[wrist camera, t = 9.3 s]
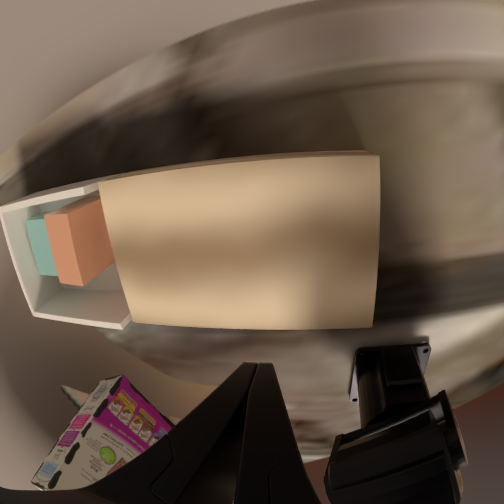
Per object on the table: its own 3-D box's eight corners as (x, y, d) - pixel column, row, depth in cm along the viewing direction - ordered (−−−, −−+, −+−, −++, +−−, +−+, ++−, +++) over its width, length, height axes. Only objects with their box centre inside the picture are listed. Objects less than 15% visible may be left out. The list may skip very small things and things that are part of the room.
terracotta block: (83, 286, 19) (60, 283, 19) (120, 256, 23) (97, 255, 23) (67, 213, 17) (43, 214, 17) (110, 194, 21) (87, 196, 22)
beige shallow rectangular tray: (363, 294, 21) (371, 327, 18) (156, 295, 24) (133, 322, 21) (365, 150, 17) (379, 156, 14) (130, 171, 21) (97, 182, 17)
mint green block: (39, 274, 23) (56, 263, 25) (77, 278, 22) (93, 265, 24) (25, 220, 21) (43, 212, 23) (62, 217, 20) (81, 208, 22)
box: (152, 295, 24) (122, 329, 20) (64, 290, 27) (33, 316, 22) (125, 172, 21) (83, 186, 16) (37, 191, 23) (-3, 207, 18)
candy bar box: (99, 379, 31) (27, 480, 16) (123, 372, 29) (45, 489, 15) (158, 437, 34) (110, 537, 19) (185, 434, 32) (138, 546, 17)
